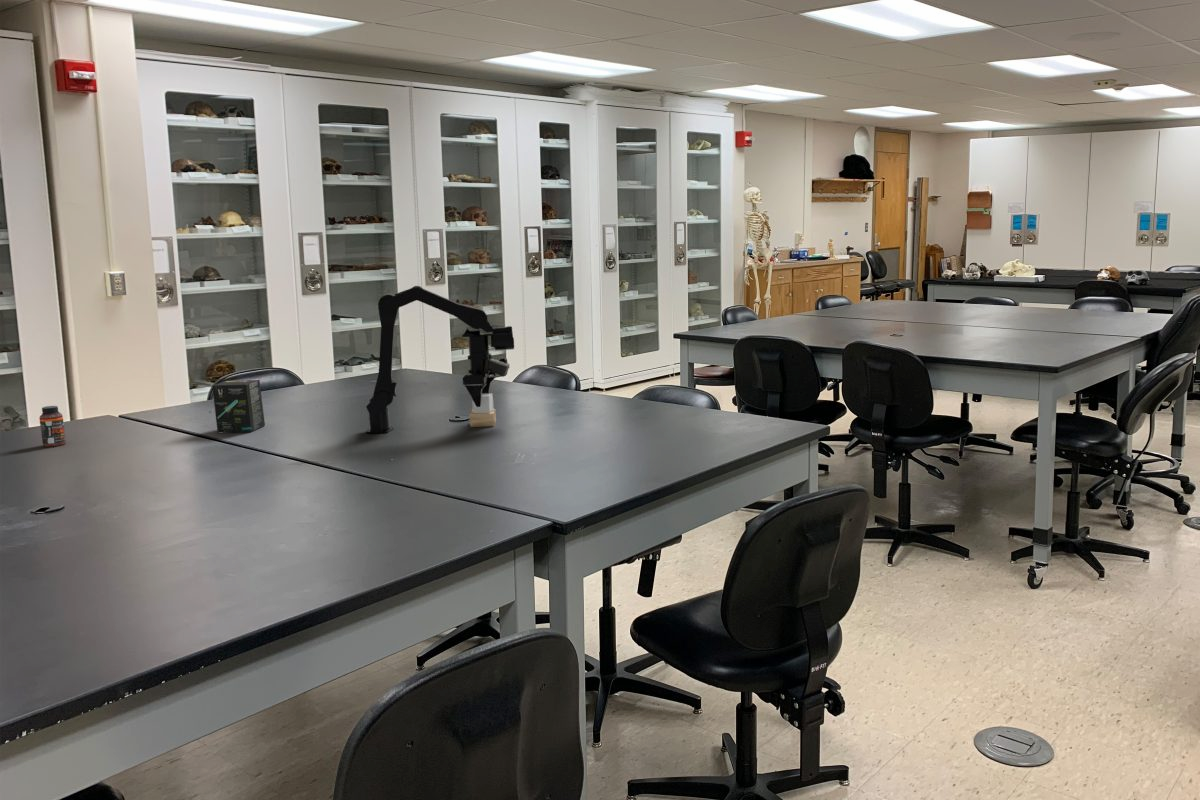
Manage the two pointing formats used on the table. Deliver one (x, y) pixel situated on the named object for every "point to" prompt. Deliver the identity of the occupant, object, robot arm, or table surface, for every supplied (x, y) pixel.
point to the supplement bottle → (52, 427)
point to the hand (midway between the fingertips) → (482, 403)
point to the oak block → (482, 419)
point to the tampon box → (238, 406)
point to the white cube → (484, 404)
